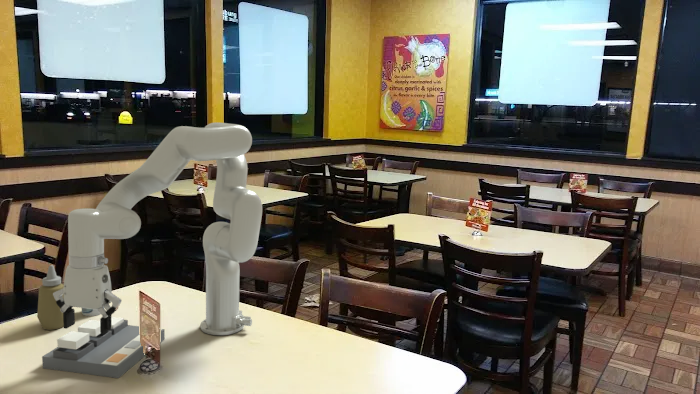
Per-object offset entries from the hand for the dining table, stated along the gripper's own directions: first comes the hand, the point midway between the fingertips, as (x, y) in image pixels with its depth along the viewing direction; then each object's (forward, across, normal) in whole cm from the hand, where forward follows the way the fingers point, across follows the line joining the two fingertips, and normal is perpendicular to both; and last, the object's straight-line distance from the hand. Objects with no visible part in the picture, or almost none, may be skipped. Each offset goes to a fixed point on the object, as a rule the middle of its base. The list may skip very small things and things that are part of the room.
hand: (87, 328), depth 129 cm
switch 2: (+4, +4, -8) cm, 10 cm away
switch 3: (+6, +4, -16) cm, 17 cm away
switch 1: (+5, +4, -1) cm, 6 cm away
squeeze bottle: (+10, +24, -19) cm, 32 cm away
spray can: (+10, +20, -31) cm, 38 cm away
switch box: (+10, 0, -8) cm, 13 cm away
